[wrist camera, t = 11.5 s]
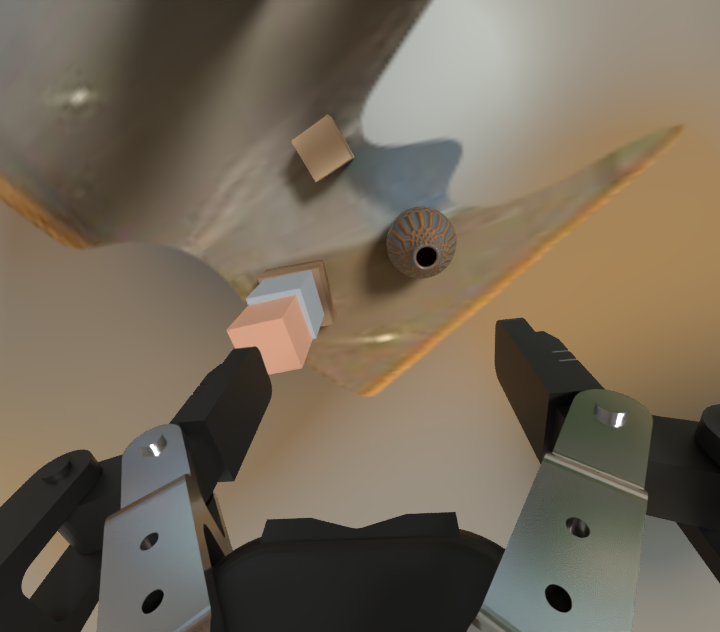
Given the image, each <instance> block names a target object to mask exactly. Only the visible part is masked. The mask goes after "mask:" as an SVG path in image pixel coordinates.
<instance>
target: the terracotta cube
mask: <svg viewBox="0 0 720 632" xmlns="http://www.w3.org/2000/svg"><path fill="white" fill-rule="evenodd" d="M226 331H227V333H228V335H229V337H230V339H231V341H232V343H233V345H234V347H235V348H244V347H254V346H256V347H257V348H258V349H259V350H260V352H261V355H262V358H263V361H264V364H265V367H266V370H267V372H268V375H269V374H274V373H279V372H284V371H290V370H295V369H300V368H302V367H303V364H304V362H305V359H306V356H307V353H308V351H309V348H310V345H311V342H312V340H313V339H312V336H311V334H310V331H309V328H308V326H307V323H306V320H305V318H304V315H303V312H302V309H301V307H300V304H299V301H298V299H297V296H296V295H292V296H288V297H284V298H279V299H275V300H271V301H266V302H262V303H258V304H253V305H249V306H247V307H246V309H245V310H244V311H243V312H242V313H241V314H240V315H239V317H238V318H237V319H236V320H235V321H234V322H233V323H232V324H231V326H230V327H229V328H228V329H227V330H226Z"/></svg>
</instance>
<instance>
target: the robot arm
mask: <svg viewBox="0 0 720 632" xmlns="http://www.w3.org/2000/svg"><path fill="white" fill-rule="evenodd" d="M495 329H496V331H495V369H496V374H497V378H498V380H499V382H500V384H501V386H502V388H503V390H504V392H505V394H506V396H507V398H508V400H509V402H510V404H511V406H512V408H513V410H514V412H515V414H516V416H517V418H518V420H519V422H520V424H521V426H522V428H523V430H524V432H525V434H526V436H527V438H528V440H529V442H530V444H531V446H532V448H533V450H534V452H535V454H536V456H537V458H538V460H539V462H540V464H541V466H540V468H539V471H538V473H537V476H536V478H535V480H534V482H533V485H532V487H531V490H530V492H529V494H528V497H527V499H526V502H525V504H524V506H523V509H522V511H521V514H520V516H519V518H518V521H517V523H516V525H515V528H514V530H513V533H512V535H511V537H510V540H509V542H508V545H507V547H506V549H504V548H502V547H501V546H499V545H498V544H496V543H494V542H492V541H491V540H489V539H487V538H484V537H482V536H480V535H477V534H474V533H472V532H469V531H465V530H461V529H459V527H458V523H457V517H456V513H455V512H448V513H446V512H445V513H422V514H405V515H402V516H399V517H395V518H392V519H389V520H386V521H382V522H379V523H376V524H373V525H370V526H366V527H363V528H358V529H355V528H349V527H345V526H341V525H337V524H333V523H329V522H325V521H321V520H317V519H313V518H297V519H271V520H267V521H266V524H265V528H264V531H263V534H262V537H260V538H257V539H255V540H252V541H250V542H248V543H246V544H244V545H242V546H241V547H239V548H237V549H235V550H234V551H233V549H232V546H231V543H230V539H229V536H228V533H227V529H226V526H225V522H224V519H223V516H222V512H221V509H220V505H219V502H218V498H217V496H216V494H215V492H214V488H215V486H216V484H217V482H227V481H234V480H235V478H236V476H237V474H238V471H239V469H240V467H241V465H242V462H243V460H244V458H245V456H246V453H247V451H248V449H249V447H250V444H251V442H252V440H253V437H254V435H255V433H256V431H257V429H258V426H259V424H260V422H261V420H262V417H263V415H264V413H265V411H266V409H267V406H268V404H269V402H270V399H271V395H272V386H271V381H270V378H269V375H268V372H267V370H266V367H265V364H264V361H263V358H262V355H261V352H260V350H259V349H258V348H257V347H256V346H254V347H244V348H235V349H233V350H232V351H231V353H230V354H229V355H228V357H227V358H226V359H225V361H224V362H223V363H222V364H220V365H219V366H217V367H216V368H215V369H213V370H212V371H211V372H210V373H208V374H207V376H206V377H205V378H204V379H203V381H202V382H201V383H200V386H198V387H197V388H196V390H195V391H194V392H193V395H191V396H190V397H189V399H188V400H187V401H186V403H185V404H184V405H183V407H182V408H181V409H180V410H179V412H178V413H177V414H176V416H175V417H174V418H173V420H172V421H171V422H170V423H169V424H164V425H160V426H157V427H154V428H152V429H150V430H148V431H146V432H144V433H143V434H141V435H140V436H139V437H137V438H136V439H135V440H133V442H131V443H130V444H129V446H128V447H127V448H126V450H125V451H124V453H123V455H120V456H116V457H113V458H110V459H107V460H104V461H101V462H97V460H96V459H95V458H94V456H93V455H92V454H91V453H90V451H88V450H76V451H72V452H69V453H66V454H64V455H62V456H60V457H58V458H56V459H54V460H52V461H51V462H49V463H48V464H46V465H45V466H43V467H42V468H41V469H39V470H38V471H37V472H36V473H35V474H34V475H33V476H31V478H29V480H27V481H26V482H25V484H23V485H22V486H21V487H20V488H19V489H18V490H17V491H16V492H15V493H14V494H13V495H12V496H11V497H10V498H9V499H8V500H7V501H6V502H5V503H4V504H3V505H2V506H1V507H0V632H81V630H82V628H83V627H84V625H85V623H86V621H87V620H88V618H89V616H90V615H91V613H92V611H93V609H94V608H95V606H96V604H97V602H98V601H99V606H98V620H97V632H632V625H633V617H634V609H635V600H636V592H637V584H638V576H639V567H640V559H641V551H642V543H643V534H644V525H645V517H646V515H649V516H653V517H658V518H662V519H666V520H671V521H675V522H676V523H677V524H678V526H679V527H680V528H681V530H682V531H683V533H684V534H685V535H686V537H687V538H688V540H689V541H690V542H691V544H692V545H693V547H694V548H695V549H696V551H697V552H698V554H699V555H700V556H701V558H702V559H703V560H704V562H705V563H706V565H707V566H708V568H709V569H710V570H711V572H712V573H713V574H714V576H715V577H716V579H717V580H718V581H719V583H720V404H719V405H713V406H710V407H708V408H706V409H705V410H704V411H703V414H702V416H701V419H700V421H699V422H697V421H689V420H681V419H674V418H667V417H660V416H654V415H651V413H650V412H649V410H648V409H647V408H646V407H645V406H644V405H642V404H641V403H640V402H638V401H637V400H635V399H633V398H631V397H629V396H626V395H624V394H621V393H618V392H615V391H610V390H605V389H604V388H603V387H602V386H601V385H600V384H599V382H597V380H596V379H595V378H594V377H593V376H592V375H591V374H590V373H589V372H588V371H587V370H586V368H585V367H584V366H583V365H582V364H581V363H580V362H579V361H578V360H576V358H575V356H574V355H573V354H572V353H571V352H568V349H567V348H566V347H565V346H564V345H563V343H562V342H561V341H560V340H559V339H557V338H555V337H553V336H552V335H549V334H548V333H546V332H544V331H540V332H535V331H534V330H533V329H532V327H531V326H530V325H529V324H528V323H527V321H526V320H525V319H524V318H515V319H505V320H498V321H497V323H496V328H495ZM57 531H58V532H59V533H60V534H61V535H62V536H63V537H64V538H65V539H66V540H67V541H68V543H69V544H70V545H69V547H68V548H67V550H66V551H65V552H64V553H63V555H62V556H61V557H60V559H59V560H58V562H57V563H56V564H55V565H54V567H53V568H52V569H51V571H50V572H49V574H48V575H47V576H46V578H45V579H44V580H43V582H42V583H41V585H40V586H39V587H38V588H37V590H36V591H35V592H34V594H33V595H32V597H31V598H30V599H28V598H27V597H25V595H24V594H23V593H22V589H21V584H22V579H23V576H24V574H25V572H26V570H27V569H28V567H29V566H30V564H31V563H32V562H33V560H34V559H35V558H36V557H37V556H38V554H39V553H40V552H41V551H42V549H43V548H44V547H45V546H46V544H47V543H48V542H49V541H50V539H51V538H52V537H53V536H54V534H55V533H56V532H57Z"/></svg>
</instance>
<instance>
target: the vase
mask: <svg viewBox="0 0 720 632" xmlns="http://www.w3.org/2000/svg"><path fill="white" fill-rule="evenodd" d="M386 247H387V253H388V256H389V259H390V261H391V262H392V264H393V265H394V266H395V268H396V269H397V270H399V271H400V272H401V273H403V274H405V275H407V276H409V277H412V278H429V277H432V276H435V275H437V274H439V273H440V272H442V271H443V270H444V269H445V268H446V267H447V266H448V265H449V263H450V262H451V260H452V258H453V256H454V253H455V250H456V234H455V230H454V227H453V225H452V224H451V222H450V221H449V219H448V218H447V217H446V216H445V215H444V214H442V213H441V212H439V211H437V210H435V209H433V208H429V207H415V208H411V209H409V210H406V211H405V212H403V213H402V214H400V215H399V216H398V217H397V218H396V219H395V220H394V221H393V223H392V225H391V226H390V228H389V231H388V234H387V240H386Z"/></svg>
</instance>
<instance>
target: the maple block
mask: <svg viewBox="0 0 720 632" xmlns="http://www.w3.org/2000/svg"><path fill="white" fill-rule="evenodd" d="M291 142H292V144H293V146H294V147H295V149H296V151H297V152H298V154H299V155H300V157H301V159H302V160H303V162H304V164H305V165H306V167H307V169H308V170H309V172H310V174H311V175H312V177H313V179H314V180H315V182H317V181H320V180H322V179H324V178H325V177H327V176H328V175H330V174H331V173H333V172H334V171H336V170H337V169H339V168H340V167H342V166H343V165H345V164H346V163H348V162H349V161H351V160H352V159H354V158H355V157H354V155H353V153H352V151H351V149H350V148H349V146H348V144H347V142H346V140H345V138H344V137H343V135H342V133H341V131H340V129H339V127H338V126H337V124H336V122H335V120H334V118H332V117H331V116H329V115H328V114H327V115H326V116H325V117H323V118H322V119H321V120H319V121H318V122H316V123H315V124H314V125H312V126H311V127H310V128H308V129H307V130H306V131H304V132H303V133H301V134H300V135H299V136H297V137H296V138H295V139H293V140H292V141H291Z"/></svg>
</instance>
